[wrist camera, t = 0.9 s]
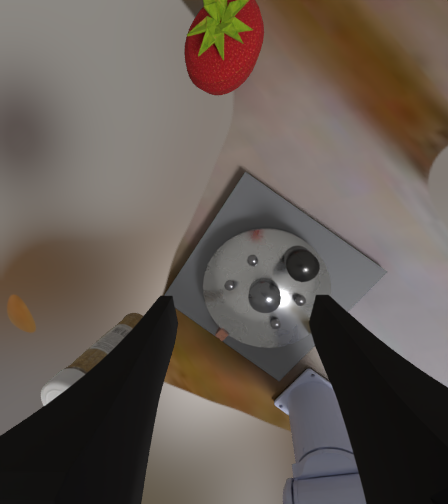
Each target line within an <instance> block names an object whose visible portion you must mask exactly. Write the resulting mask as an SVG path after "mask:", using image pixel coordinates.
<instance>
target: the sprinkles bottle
mask: <svg viewBox="0 0 448 504" xmlns="http://www.w3.org/2000/svg"><path fill="white" fill-rule="evenodd" d="M142 317H143V316H142V315H140V314H137V313H131V314H128V315H126V316H125V317H124V319H123V320H122V321H121V322H119V323H118V324H117V325H116V326H115V327H114V328H112V329H111V330H110V331H108V332H107V333H106V334H105V335H104V336H102V337H101V338H100V339H99V340H98V341H97V342H96V343H95V344H94V345H92V346H91V347H90V348H89V349H88V350H87V351H85V352H84V353H83V354H82V355H81V356H80V357H79V358H77V359H76V360H75V361H74V362H73V363H72V364H71V365H70V366H68V367H66V368H65V369H63V370H61V371H60V372H58V373H57V374H56V375H55V376H54V377H53V378H52V379H50V381H48V382H47V383H46V384H45V385H44V387H43V388H42V391H41V400H42V403H43V405H44V406H45V405H46V404H48V403H49V402H50V401H52V400H53V399H54V398H56V397H57V396H58V395H60V394H61V393H62V392H64V391H65V390H66V389H68V388H69V387H70V386H72V385H73V384H74V383H75V382H76V381H78V380H79V379H80V378H81V377H83V376H84V375H85V374H86V373H87V372H88V371H90V370H91V369H92V368H93V367H94V366H95V365H97V364H98V363H99V362H100V361H101V360H102V359H103V358H104V357H105V356H106V355H107V354H109V353H110V352H111V351H112V350H113V349H114V348H115V347H116V346H117V345H118V344H119V343H120V342H121V340H122V339H123V338H124V337H125V336H126V335H127V334H128V333H129V332H130V331H131V330H132V329H133V328H134V327H135V325H136V324H137V323H138V322H139V321H140V320H141V319H142Z"/></svg>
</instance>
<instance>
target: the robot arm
mask: <svg viewBox="0 0 448 504" xmlns="http://www.w3.org/2000/svg"><path fill="white" fill-rule="evenodd" d="M309 326H310V330H311V334H312V337H313V341H314V344H315V346H316V349H317V351H318V354H319V356H320V359H321V361H322V364H323V366H324V368H325V371H326V373H327V376H328V378H329V380H330V382H329V381H327V380H326V379H324V378H323V377H322V376H320V375H319V374H317V373H316V372H315V371H313V370H312V369H306V370H305V371H304V372H303V373H302V374H301V375H300V376H299V377H298V378H297V379H296V380H295V381H294V382H293V383H292V384H291V385H290V386H289V387H288V388H287V389H286V390H285V391H284V392H283V393H282V394H281V395H280V396H279V397H278V398H277V399H276V400H275V401H274V404H275V406H276V407H278V408H279V409H281V410H282V411H283V412H285V413H286V414H288V415H289V419H290V426H291V433H292V439H293V446H294V454H295V461H296V464H292V469H293V477H294V478H288V479H287V480H286V484H285V487H284V489H283V504H448V387H446V386H444V385H443V384H441V383H440V382H438V381H437V380H435V379H434V378H432V377H430V376H429V375H427V374H426V373H424V372H423V371H421V370H420V369H419V368H417V367H416V366H414V365H413V364H411V363H410V362H409V361H407V360H406V359H404V358H403V357H402V356H400V355H399V354H398V353H396V352H395V351H394V350H392V349H391V348H390V347H388V346H387V345H386V344H385V343H383V342H382V341H381V340H380V339H378V338H377V337H376V336H375V335H373V334H372V333H371V332H370V331H369V330H367V329H366V328H365V327H364V326H363V325H362V324H361V323H359V322H358V321H357V320H356V319H355V318H354V317H353V316H351V315H350V314H349V313H348V312H347V311H346V310H345V309H344V308H343V307H342V306H340V305H339V304H338V303H337V302H336V301H335V300H334V299H333V298H332V297H331V296H329V295H316V296H315V300H314V304H313V308H312V312H311V316H310V320H309ZM177 327H178V321H177V316H176V311H175V306H174V301H173V296H160V297H159V298H158V299H157V301H156V302H155V303H154V304H153V305H152V307H151V308H150V309H149V310H148V311H147V313H146V314H145V315H144V316H143V317H142V319H141V320H140V321H139V322H138V323H137V324H136V325H135V327H134V328H133V329H132V330H131V331H130V332H129V333H128V334H127V335H126V336H125V337H124V338H123V339H122V340H121V342H120V343H119V344H118V345H117V346H116V347H115V348H114V349H113V350H112V351H111V352H110V353H109V354H107V355H106V356H105V357H104V358H103V359H102V360H101V361H100V362H99V363H98V364H97V365H95V366H94V367H93V368H92V369H91V370H90V371H88V372H87V373H86V374H85V375H84V376H83V377H81V378H80V379H79V380H78V381H76V382H75V383H74V384H73V385H72V386H70V387H69V388H68V389H66V390H65V391H64V392H62V393H61V394H60V395H58V396H57V397H56V398H54V399H53V400H52V401H50V402H49V403H48V404H46V405H45V406H44V407H42V408H41V409H39V410H38V411H37V412H35V413H34V414H32V415H31V416H30V417H28V418H27V419H25V420H24V421H22V422H21V423H19V424H18V425H16V426H15V427H13V428H12V429H10V430H9V431H7V432H6V433H4V434H3V435H1V436H0V504H141V501H142V494H143V488H144V481H145V475H146V468H147V463H148V456H149V450H150V445H151V439H152V433H153V428H154V423H155V417H156V412H157V407H158V402H159V398H160V393H161V390H162V386H163V382H164V379H165V376H166V372H167V369H168V365H169V362H170V358H171V355H172V351H173V348H174V344H175V339H176V333H177ZM311 374H314V375H311Z"/></svg>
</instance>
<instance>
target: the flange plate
mask: <svg viewBox="0 0 448 504" xmlns="http://www.w3.org/2000/svg"><path fill="white" fill-rule="evenodd" d="M203 294H204V299H205V303H206V306H207V309H208V311H209V313H210V315H211V317H212V318H213V320H214V321H215V322H216V324H217V325H218V326H219V328H218V329H217V331H216V334H215V336H216V337H217V338H219V339H220V340H221V341H223V340H224V339H225V338H226V337H227V336H228V335H229V336H231V337H233V338H234V339H236V340H238V341H240V342H242V343H245V344H248V345H251V346H256V347H264V348H273V347H281V346H286V345H289V344H292V343H295V342H297V341H299V340H301V339H303V338H304V337H306V336H307V335H309V334H310V333H311V330H310V326H309V320H310V316H311V312H312V308H313V304H314V300H315V296H316V295H329V296H331V281H330V276H329V273H328V270H327V267H326V265H325V263H324V262H323V260H322V258H321V257H320V256H319V254H318V253H317V252H316V251H315V250H314V249H313V248H312V247H311V246H310V245H309V244H308V243H306V242H305V241H304V240H302V239H301V238H299V237H298V236H296V235H294V234H292V233H289V232H287V231H283V230H279V229H273V228H257V229H251V230H248V231H244V232H242V233H239V234H237V235H235V236H233V237H232V238H230V239H229V240H228V241H226V242H225V243H224V244H223V245H222V246H221V247H220V248H219V249H218V250H217V251H216V252H215V254H214V255H213V257H212V258H211V260H210V262H209V263H208V266H207V268H206V271H205V275H204V281H203Z"/></svg>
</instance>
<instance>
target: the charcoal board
mask: <svg viewBox="0 0 448 504" xmlns="http://www.w3.org/2000/svg"><path fill="white" fill-rule="evenodd" d="M257 228H273V229H279V230H283V231H287V232H289V233H292V234H294V235H296V236H298V237H299V238H301V239H302V240H304V241H305V242H306V243H308V244H309V245H310V246H311V247H312V248H313V249H314V250H315V251H316V252H317V253H318V254H319V256H320V257H321V258H322V260H323V262H324V263H325V265H326V267H327V270H328V273H329V276H330V281H331V297H332V298H333V299H334V300H335V301H336V302H337V303H338V304H339V305H340V306H342V307H343V308H344V309H345V310H346V311H347V312H348V311H349V310H350V309H351V308H352V307H353V306H354V305H355V304H356V303H357V302H358V301H359V300H360V299H361V298H362V297H363V296H364V295H365V294H366V293H367V292H368V291H369V290H370V289H371V288H372V287H373V286H374V285H375V284H376V283H377V282H378V281H379V280H380V279H381V278H382V277H383V276H384V275H385V274H386V273H387V271H386V270H384V269H383V268H381V267H380V266H378V265H377V264H376V263H374V262H373V261H371V260H370V259H369V258H367V257H366V256H364V255H363V254H361V253H360V252H359V251H357V250H356V249H354V248H353V247H352V246H350V245H349V244H347V243H346V242H344V241H343V240H342V239H340V238H339V237H337V236H336V235H334V234H333V233H332V232H330V231H329V230H327V229H326V228H325V227H323V226H322V225H320V224H319V223H317V222H316V221H315V220H313V219H312V218H310V217H309V216H307V215H306V214H305V213H303V212H302V211H300V210H299V209H298V208H296V207H295V206H293V205H292V204H290V203H289V202H288V201H286V200H285V199H283V198H282V197H281V196H279V195H278V194H276V193H275V192H273V191H272V190H271V189H269V188H268V187H266V186H265V185H263V184H262V183H261V182H259V181H258V180H256V179H255V178H254V177H252V176H251V175H249V174H248V173H246V172H245V173H244V175H243V176H242V178H241V179H240V181H239V182H238V184H237V185H236V187H235V188H234V190H233V191H232V193H231V194H230V196H229V197H228V199H227V201H226V202H225V204H224V205H223V207H222V208H221V210H220V211H219V213H218V214H217V216H216V217H215V219H214V220H213V222H212V223H211V225H210V226H209V228H208V229H207V231H206V233H205V234H204V236H203V237H202V239H201V240H200V242H199V243H198V245H197V246H196V248H195V249H194V251H193V252H192V254H191V255H190V257H189V258H188V260H187V261H186V263H185V265H184V266H183V268H182V269H181V271H180V272H179V274H178V275H177V277H176V278H175V280H174V281H173V283H172V284H171V286H170V287H169V289H168V290H167V292H166V293H165V295H164V296H173V301H174V306H175V308H176V309H178V310H179V311H180V312H182V313H183V314H185V315H186V316H188V317H189V318H190V319H192V320H193V321H195V322H196V323H197V324H199V325H200V326H202V327H203V328H204V329H206V330H207V331H209V332H210V333H212V334H213V335H214V336H215V334H216V331H217V329H218V328H219V326H218V325H217V324H216V322H215V321H214V320H213V318H212V317H211V315H210V313H209V311H208V309H207V306H206V303H205V299H204V294H203V281H204V275H205V271H206V268H207V266H208V263H209V262H210V260H211V258H212V257H213V255H214V254H215V252H216V251H217V250H218V249H219V248H220V247H221V246H222V245H223V244H224V243H225V242H226V241H228V240H229V239H230V238H232V237H233V236H235V235H237V234H239V233H242V232H244V231H248V230H251V229H257ZM223 342H224V343H226V344H227V345H228V346H230V347H231V348H233V349H234V350H235V351H237V352H238V353H240V354H241V355H243V356H244V357H245V358H247V359H248V360H250V361H251V362H252V363H254V364H255V365H257V366H258V367H259V368H261V369H262V370H264V371H265V372H267V373H268V374H269V375H271V376H272V377H274V378H275V379H276V380H278V381H280V380H281V379H282V378H283V377H284V376H285V375H286V374H287V373H288V372H289V371H290V370H291V369H292V368H293V367H294V366H295V365H296V364H297V363H298V362H299V361H300V360H301V359H302V358H303V357H304V356H305V355H306V354H307V353H308V352H309V351H310V350H311V349H312V348H313V347H314V346H315V344H314V341H313V337H312V334H311V333H310V334H309V335H307V336H306V337H304V338H303V339H301V340H299V341H297V342H295V343H292V344H289V345H286V346H281V347H273V348H264V347H256V346H251V345H248V344H245V343H242V342H240V341H238V340H236V339H234V338H233V337H231V336H229V335H228V336H227V337H226V338H225V339H224V340H223Z"/></svg>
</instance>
